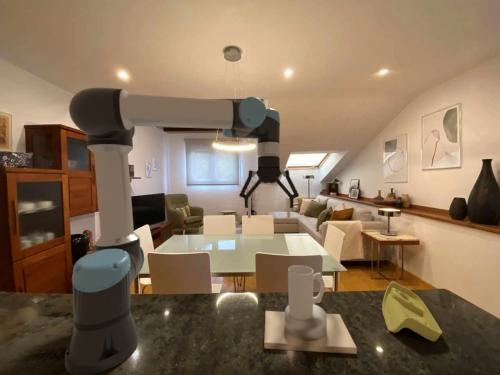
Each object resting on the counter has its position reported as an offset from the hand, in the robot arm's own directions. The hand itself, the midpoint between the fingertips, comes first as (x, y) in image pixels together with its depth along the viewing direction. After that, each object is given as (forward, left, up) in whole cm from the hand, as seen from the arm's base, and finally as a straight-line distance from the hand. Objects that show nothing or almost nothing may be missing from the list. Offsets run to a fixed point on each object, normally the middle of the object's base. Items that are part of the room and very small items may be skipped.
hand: (268, 217), depth 80 cm
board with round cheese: (+10, -17, -29) cm, 35 cm away
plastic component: (+41, -9, -29) cm, 51 cm away
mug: (+10, -17, -23) cm, 31 cm away
